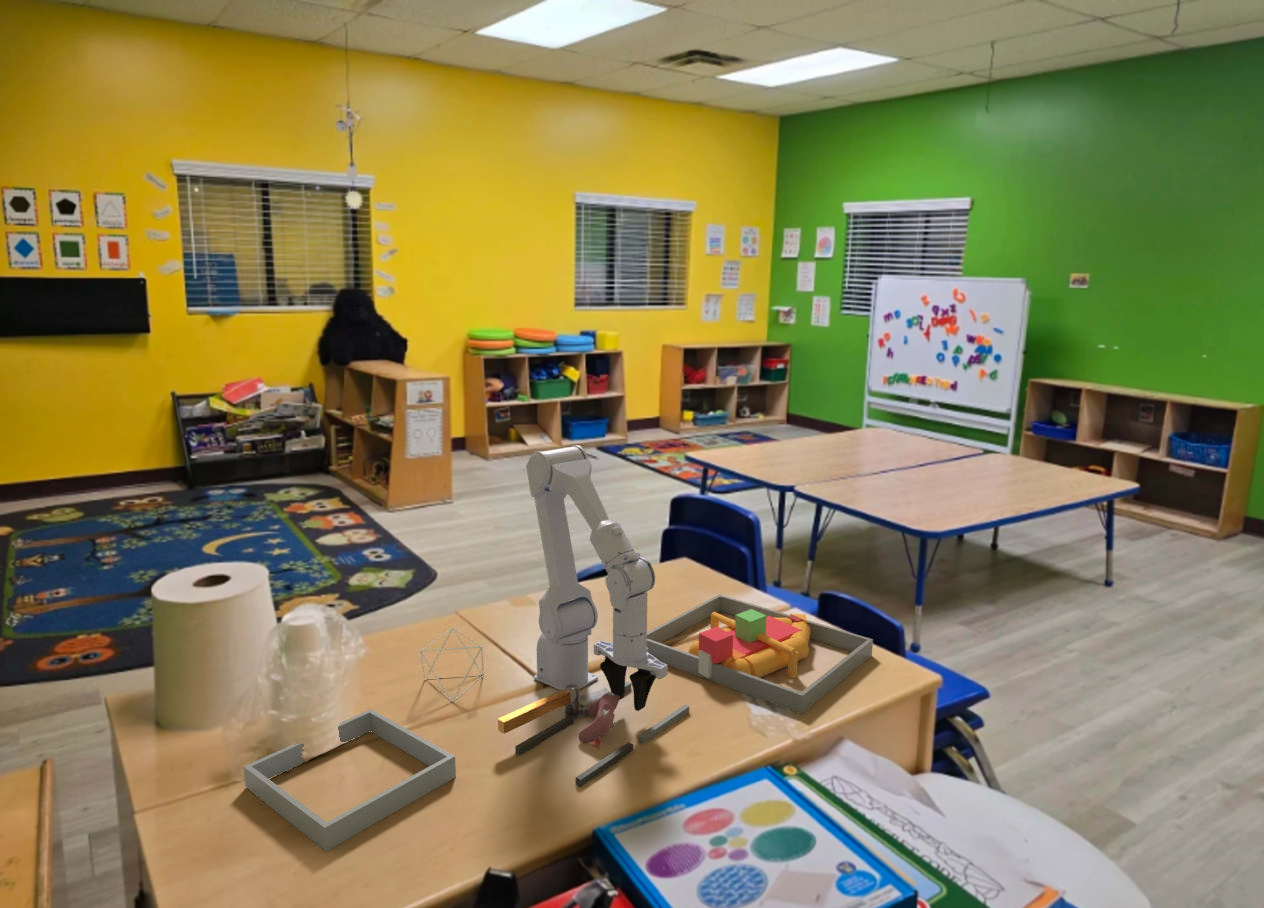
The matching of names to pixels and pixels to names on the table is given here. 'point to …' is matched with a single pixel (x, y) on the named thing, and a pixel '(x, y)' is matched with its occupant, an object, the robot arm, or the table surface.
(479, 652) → the geometric polyhedron
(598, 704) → the pink curved shape
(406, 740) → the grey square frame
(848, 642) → the blocks bin frame
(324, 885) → the table surface
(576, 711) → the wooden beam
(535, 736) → the dock
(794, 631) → the raft
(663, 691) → the table surface
